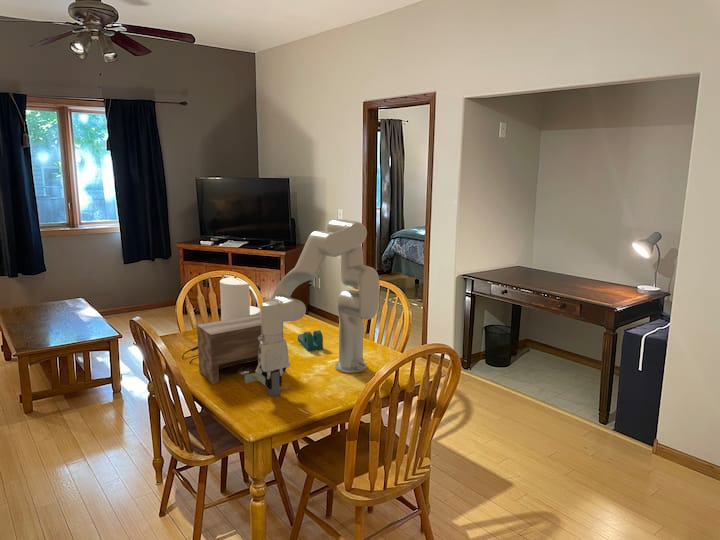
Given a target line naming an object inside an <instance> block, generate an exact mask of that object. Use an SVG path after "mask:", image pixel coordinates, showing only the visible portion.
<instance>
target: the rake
mask: <svg viewBox="0 0 720 540" xmlns="http://www.w3.org/2000/svg"><path fill="white" fill-rule="evenodd" d="M243 376H244V384H250V383H254V382H257V381H258V382H260V383H261V384H263V385H264V386H265V387H266V385H265V377H264V376H263V375H260V374H257V373H256V372H254V373H248V374H244V375H243ZM270 378H271V379H272V389H269V388H267V394H268V395H269V396H270V397H271V398H274V397H278V396H281V393H280V392H281V389H280V388H281V387H280V381H279V371H278V370H274V371H271V373H270Z"/></svg>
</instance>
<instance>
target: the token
mask: <svg viewBox="0 0 720 540" xmlns="http://www.w3.org/2000/svg"><path fill="white" fill-rule="evenodd" d="M236 373H237V374H238V375H241V376H244V375H248V374H251V368H249V367H239V368H237V370H236Z"/></svg>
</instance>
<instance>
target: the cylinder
mask: <svg viewBox="0 0 720 540" xmlns="http://www.w3.org/2000/svg"><path fill="white" fill-rule="evenodd" d="M219 289H220V290H219V291H220V293H219V295H220V314H221V316H220V319H221V320H220V321H222V320H228V319H234V318H239V317H245V316H251V315H256V314H261V308H259V307H257V306H254V305H253V306H252V305H250V283H248V282H245V281H242V280H240V279H237V278H235V277H233V276H227V277H223V278H222V279H220V280H219Z"/></svg>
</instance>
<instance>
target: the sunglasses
mask: <svg viewBox="0 0 720 540" xmlns="http://www.w3.org/2000/svg"><path fill="white" fill-rule="evenodd" d="M197 350H198V345H197V346H195V347H193V348H191V349H189V350H187V351H185V352H184V353H183V354H182V359H183V360H184V355H186V354H187V353H189V352H194V351H197ZM196 359H199V356H198V357H195V358H192V359H191V360H190V361H189V364H192V362H193V361H194V360H196Z"/></svg>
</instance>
